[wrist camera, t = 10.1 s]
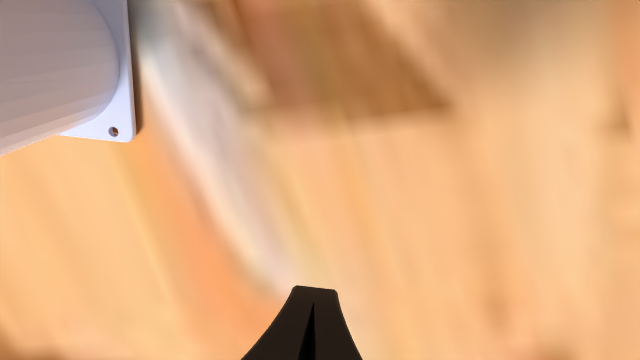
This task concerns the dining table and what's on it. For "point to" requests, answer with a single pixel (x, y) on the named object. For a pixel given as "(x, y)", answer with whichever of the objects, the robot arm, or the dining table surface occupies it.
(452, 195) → the dining table surface
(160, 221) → the dining table surface
